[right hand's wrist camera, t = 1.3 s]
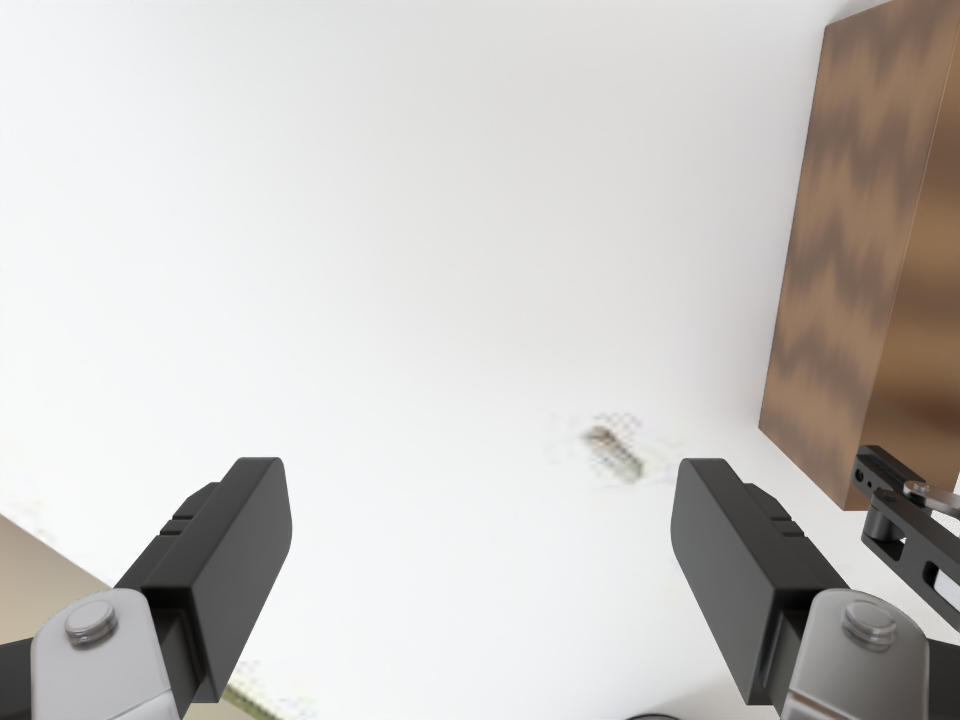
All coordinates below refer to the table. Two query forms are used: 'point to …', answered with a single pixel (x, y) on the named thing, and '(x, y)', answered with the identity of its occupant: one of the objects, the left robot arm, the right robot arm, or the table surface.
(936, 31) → the box
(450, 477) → the table surface
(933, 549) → the left robot arm
